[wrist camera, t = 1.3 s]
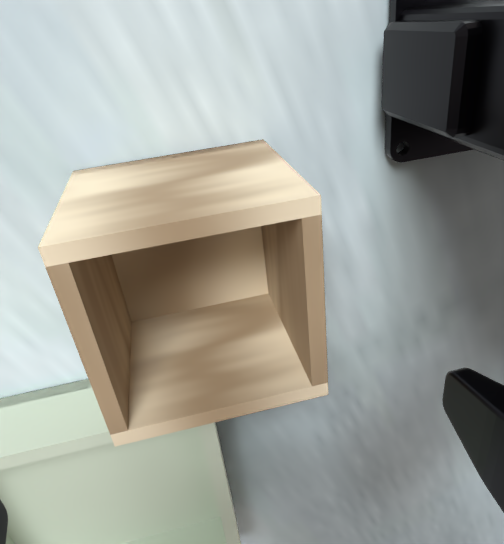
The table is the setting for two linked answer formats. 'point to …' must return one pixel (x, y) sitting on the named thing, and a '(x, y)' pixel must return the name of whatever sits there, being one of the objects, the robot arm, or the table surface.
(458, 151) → the robot arm
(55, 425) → the pale green square tray
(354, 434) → the table surface
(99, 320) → the small crate
